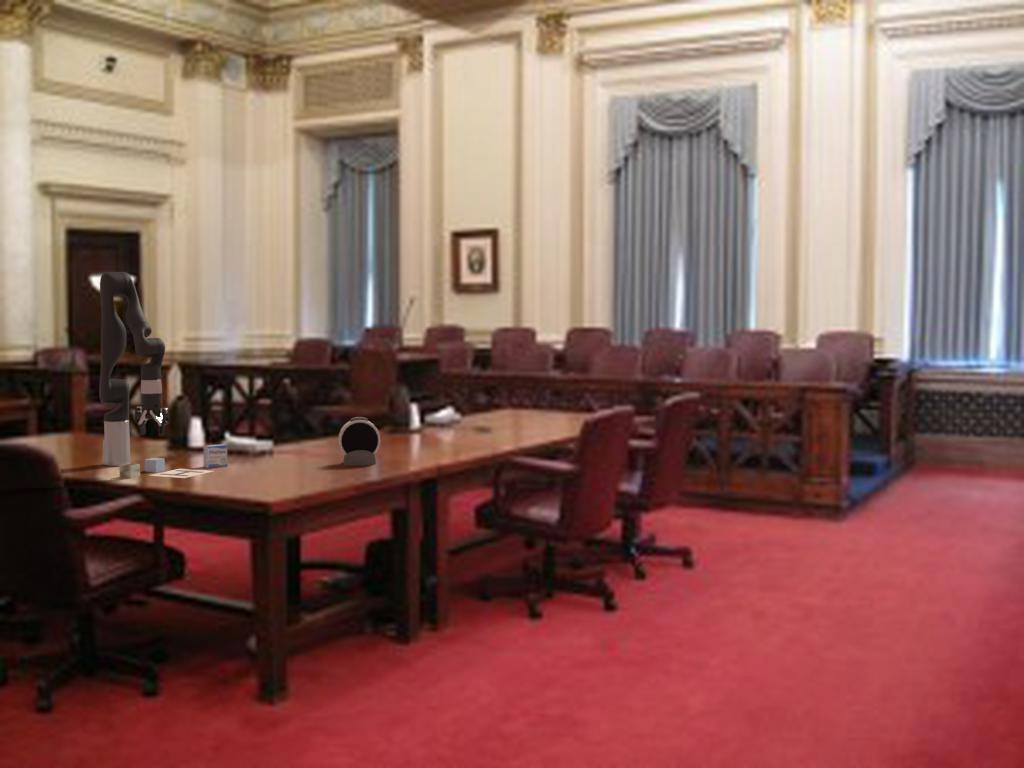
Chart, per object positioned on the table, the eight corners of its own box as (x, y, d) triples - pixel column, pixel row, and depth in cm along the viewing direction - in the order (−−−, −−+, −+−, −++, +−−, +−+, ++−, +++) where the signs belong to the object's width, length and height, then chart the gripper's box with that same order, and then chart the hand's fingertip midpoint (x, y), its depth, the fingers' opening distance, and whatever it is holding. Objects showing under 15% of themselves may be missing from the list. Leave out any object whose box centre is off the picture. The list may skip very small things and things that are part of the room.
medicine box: (207, 469, 443) (207, 446, 443) (203, 467, 447) (203, 445, 446) (227, 467, 448) (227, 444, 447) (223, 465, 452) (222, 443, 451)
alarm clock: (339, 465, 451) (338, 418, 450) (338, 462, 461) (337, 416, 460) (381, 464, 455) (380, 418, 453) (379, 460, 465) (378, 415, 463)
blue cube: (145, 472, 435) (144, 459, 434) (154, 470, 439) (153, 457, 439) (156, 473, 433) (155, 460, 432) (164, 471, 437) (164, 458, 437)
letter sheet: (148, 476, 425) (148, 475, 425) (179, 469, 442) (179, 468, 442) (184, 479, 419) (184, 477, 419) (214, 472, 436) (214, 470, 436)
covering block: (119, 478, 420) (119, 465, 420) (129, 476, 425) (128, 463, 425) (130, 479, 419) (130, 465, 418) (140, 477, 423) (139, 463, 423)
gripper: (129, 391, 432) (130, 435, 434) (160, 393, 427) (161, 437, 428) (142, 390, 439) (143, 433, 441) (173, 391, 434) (174, 435, 435)
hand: (152, 435), depth 434 cm, fingers open, 8 cm apart
